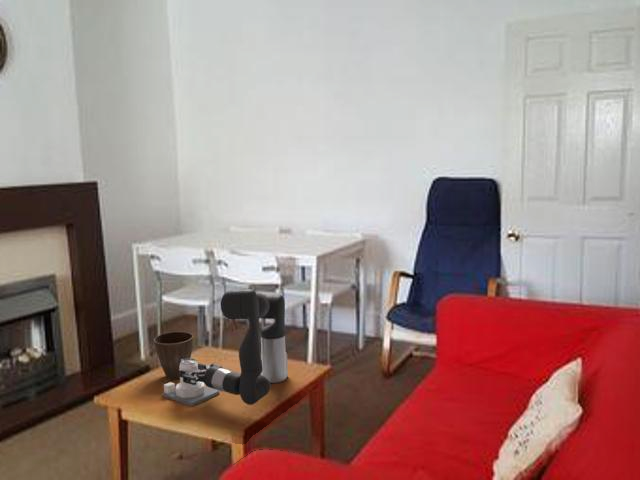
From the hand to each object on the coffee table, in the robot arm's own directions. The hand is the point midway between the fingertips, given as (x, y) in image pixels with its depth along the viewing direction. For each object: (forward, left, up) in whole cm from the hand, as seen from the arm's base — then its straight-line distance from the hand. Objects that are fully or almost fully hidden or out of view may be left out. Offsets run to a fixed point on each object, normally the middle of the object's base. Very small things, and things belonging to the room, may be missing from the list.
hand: (189, 369), depth 223 cm
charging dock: (0, 0, -10) cm, 10 cm away
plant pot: (-9, -19, -10) cm, 23 cm away
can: (+1, 0, -9) cm, 9 cm away
